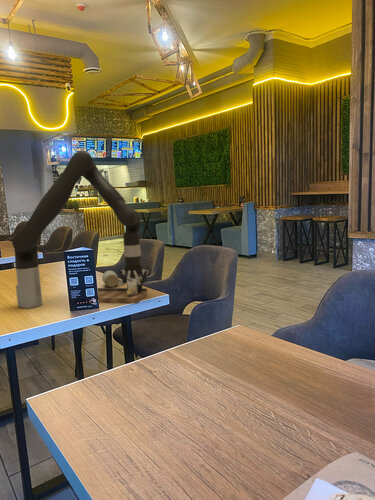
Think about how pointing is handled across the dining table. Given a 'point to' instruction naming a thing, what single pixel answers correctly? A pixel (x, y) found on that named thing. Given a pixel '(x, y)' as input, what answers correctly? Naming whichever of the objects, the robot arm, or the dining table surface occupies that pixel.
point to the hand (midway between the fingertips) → (135, 292)
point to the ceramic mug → (111, 279)
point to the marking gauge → (133, 287)
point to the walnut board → (119, 295)
